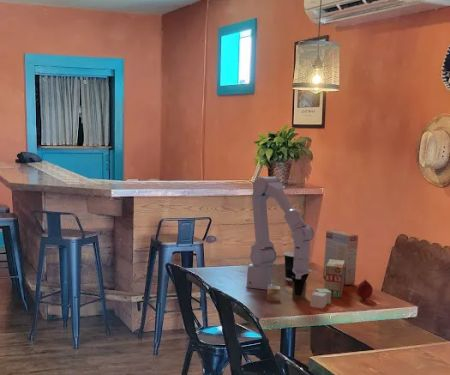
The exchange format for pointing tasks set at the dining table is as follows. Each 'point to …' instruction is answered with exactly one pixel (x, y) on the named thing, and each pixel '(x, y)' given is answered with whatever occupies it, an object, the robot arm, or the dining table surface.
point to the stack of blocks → (335, 277)
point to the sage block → (326, 293)
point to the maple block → (273, 293)
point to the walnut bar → (301, 294)
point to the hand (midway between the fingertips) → (299, 293)
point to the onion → (364, 290)
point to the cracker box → (342, 252)
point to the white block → (318, 299)
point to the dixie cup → (289, 265)
